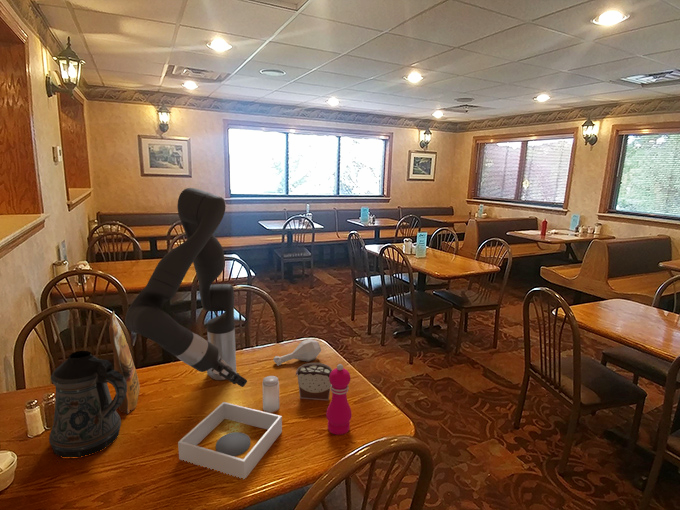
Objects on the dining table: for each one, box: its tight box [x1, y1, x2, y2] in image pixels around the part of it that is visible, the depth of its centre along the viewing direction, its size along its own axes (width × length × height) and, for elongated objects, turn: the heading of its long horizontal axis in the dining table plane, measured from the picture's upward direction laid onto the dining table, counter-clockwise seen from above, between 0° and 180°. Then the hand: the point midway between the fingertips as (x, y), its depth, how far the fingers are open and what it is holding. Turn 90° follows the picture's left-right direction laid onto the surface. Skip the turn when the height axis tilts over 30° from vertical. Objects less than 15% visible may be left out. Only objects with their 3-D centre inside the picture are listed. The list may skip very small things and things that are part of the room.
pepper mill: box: [325, 363, 352, 436], centre depth 116 cm, size 7×7×20 cm
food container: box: [295, 362, 333, 401], centre depth 134 cm, size 12×6×10 cm, turn 84°
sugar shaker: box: [261, 375, 280, 413], centre depth 126 cm, size 5×5×10 cm
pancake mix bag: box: [108, 310, 141, 414], centre depth 126 cm, size 7×19×28 cm, turn 20°
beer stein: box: [48, 350, 127, 457], centre depth 109 cm, size 16×19×25 cm
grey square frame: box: [177, 401, 283, 480], centre depth 109 cm, size 19×19×5 cm
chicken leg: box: [273, 338, 322, 367], centre depth 156 cm, size 8×18×8 cm, turn 113°
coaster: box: [215, 431, 251, 457], centre depth 110 cm, size 9×9×1 cm
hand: (237, 377), depth 117 cm, fingers open, 8 cm apart
